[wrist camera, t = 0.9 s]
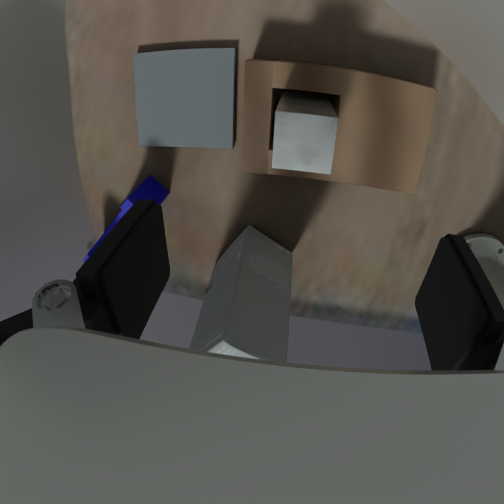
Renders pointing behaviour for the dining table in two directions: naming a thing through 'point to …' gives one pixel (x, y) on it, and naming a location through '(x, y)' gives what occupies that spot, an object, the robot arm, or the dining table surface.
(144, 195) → the cable clip
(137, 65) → the rubber mat
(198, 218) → the dining table surface
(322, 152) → the steel bar
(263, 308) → the skincare box
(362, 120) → the wooden block with hole
